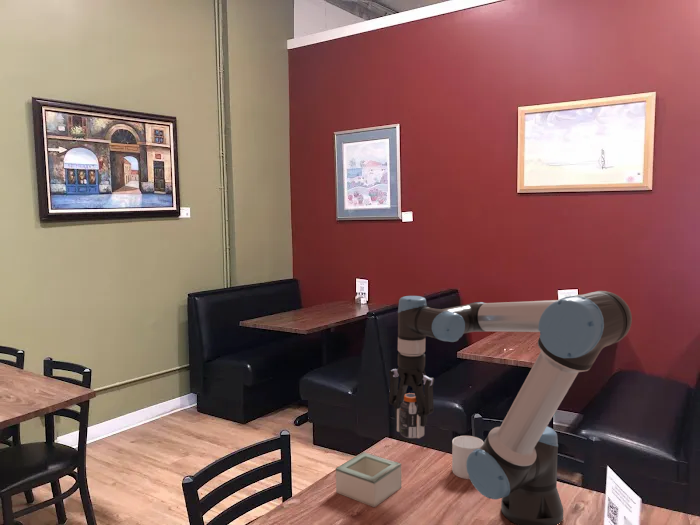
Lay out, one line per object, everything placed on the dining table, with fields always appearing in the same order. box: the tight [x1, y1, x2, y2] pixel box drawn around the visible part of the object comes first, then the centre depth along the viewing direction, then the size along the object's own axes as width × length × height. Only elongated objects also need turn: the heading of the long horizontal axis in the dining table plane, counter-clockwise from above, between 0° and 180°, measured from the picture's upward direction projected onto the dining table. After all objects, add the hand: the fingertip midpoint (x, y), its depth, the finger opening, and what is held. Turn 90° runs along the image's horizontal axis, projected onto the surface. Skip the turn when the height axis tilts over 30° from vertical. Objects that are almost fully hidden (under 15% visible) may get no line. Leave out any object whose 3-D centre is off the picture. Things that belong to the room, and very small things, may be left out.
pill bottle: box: [399, 392, 420, 439], centre depth 159 cm, size 6×6×11 cm
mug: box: [451, 435, 485, 480], centre depth 170 cm, size 12×9×9 cm
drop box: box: [335, 451, 402, 508], centre depth 159 cm, size 13×13×7 cm
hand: (410, 433), depth 160 cm, fingers closed on pill bottle, 6 cm apart
